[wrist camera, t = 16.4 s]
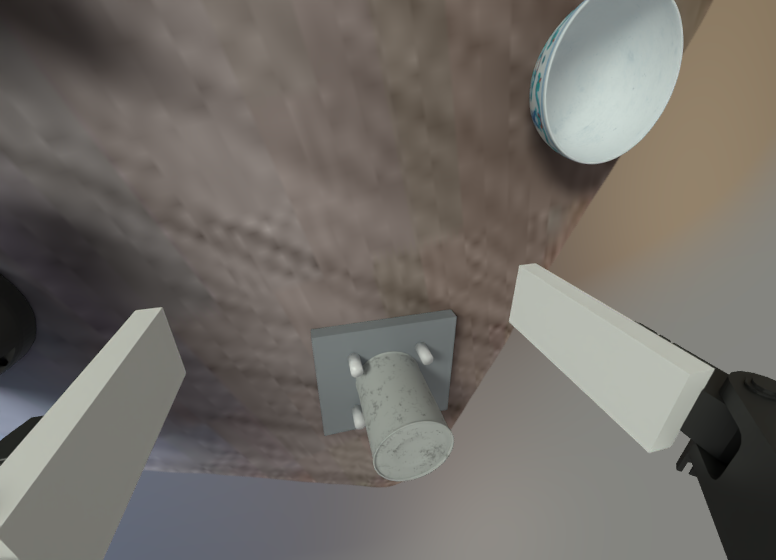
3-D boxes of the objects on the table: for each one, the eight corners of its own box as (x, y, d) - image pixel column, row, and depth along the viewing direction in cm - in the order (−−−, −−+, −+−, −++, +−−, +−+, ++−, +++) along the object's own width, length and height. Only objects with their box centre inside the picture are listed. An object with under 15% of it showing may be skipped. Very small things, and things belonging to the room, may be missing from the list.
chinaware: (473, 108, 36) (514, 104, 29) (563, -33, 32) (633, -74, 26) (553, 180, 42) (601, 191, 36) (636, 70, 39) (707, 58, 32)
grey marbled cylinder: (375, 412, 49) (396, 492, 39) (343, 374, 45) (357, 453, 34) (428, 381, 49) (465, 452, 39) (402, 339, 45) (435, 407, 34)
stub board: (323, 425, 51) (325, 453, 46) (310, 329, 43) (312, 352, 38) (442, 400, 55) (455, 424, 51) (450, 309, 47) (466, 328, 43)
